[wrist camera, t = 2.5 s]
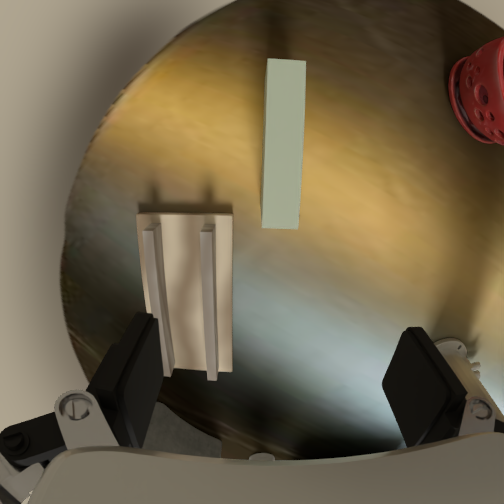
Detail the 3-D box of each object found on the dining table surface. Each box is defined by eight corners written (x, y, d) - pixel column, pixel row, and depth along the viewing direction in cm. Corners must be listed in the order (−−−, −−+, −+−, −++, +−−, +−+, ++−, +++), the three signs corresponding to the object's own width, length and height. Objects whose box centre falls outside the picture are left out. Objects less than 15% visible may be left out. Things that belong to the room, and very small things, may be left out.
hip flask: (225, 443, 49) (217, 536, 30) (210, 449, 50) (199, 538, 31) (157, 399, 45) (125, 500, 26) (144, 407, 46) (111, 502, 27)
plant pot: (516, 120, 28) (575, 127, 17) (467, 162, 31) (530, 177, 20) (476, 38, 25) (533, 23, 13) (419, 70, 28) (479, 52, 16)
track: (232, 213, 34) (230, 223, 31) (232, 367, 42) (230, 386, 38) (139, 212, 34) (126, 221, 31) (157, 361, 42) (150, 379, 38)
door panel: (292, 81, 29) (305, 61, 21) (287, 206, 34) (298, 229, 26) (264, 79, 29) (267, 58, 21) (260, 205, 34) (261, 227, 26)
